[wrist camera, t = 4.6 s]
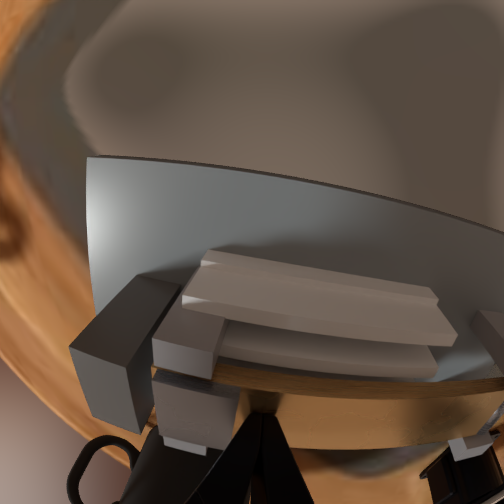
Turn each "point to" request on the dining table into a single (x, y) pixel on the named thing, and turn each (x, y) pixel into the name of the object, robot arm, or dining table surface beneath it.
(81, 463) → the mug
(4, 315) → the dining table surface
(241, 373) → the strap
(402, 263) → the board
